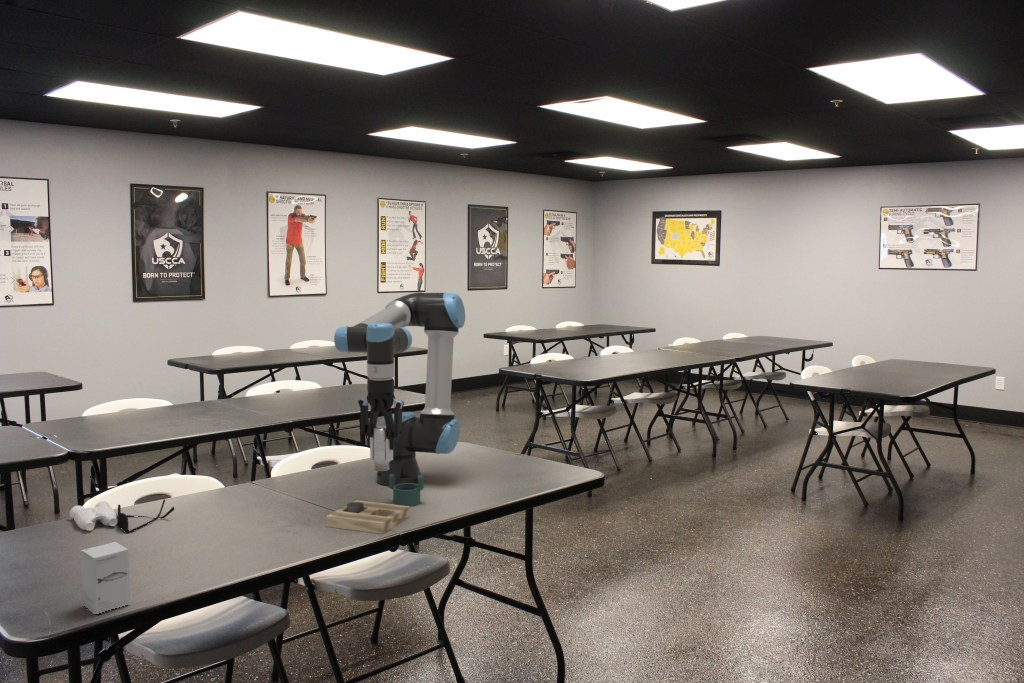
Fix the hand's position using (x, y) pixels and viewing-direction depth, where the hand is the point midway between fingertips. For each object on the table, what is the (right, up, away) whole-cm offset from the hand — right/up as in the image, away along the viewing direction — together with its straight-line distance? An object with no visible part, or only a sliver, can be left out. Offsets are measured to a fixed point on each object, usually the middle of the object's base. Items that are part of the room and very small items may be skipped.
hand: (381, 459), depth 218 cm
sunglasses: (-68, -19, +3) cm, 71 cm away
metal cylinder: (0, -3, 0) cm, 3 cm away
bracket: (+4, -17, +21) cm, 28 cm away
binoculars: (-82, -19, +1) cm, 84 cm away
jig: (-4, -18, +3) cm, 19 cm away
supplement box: (-50, -24, -52) cm, 76 cm away
